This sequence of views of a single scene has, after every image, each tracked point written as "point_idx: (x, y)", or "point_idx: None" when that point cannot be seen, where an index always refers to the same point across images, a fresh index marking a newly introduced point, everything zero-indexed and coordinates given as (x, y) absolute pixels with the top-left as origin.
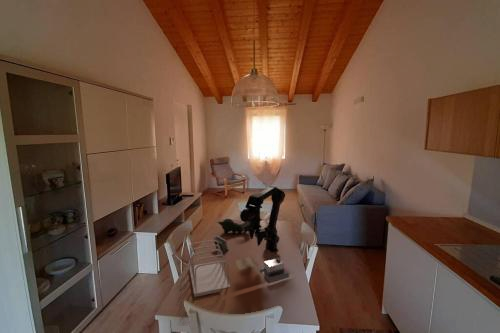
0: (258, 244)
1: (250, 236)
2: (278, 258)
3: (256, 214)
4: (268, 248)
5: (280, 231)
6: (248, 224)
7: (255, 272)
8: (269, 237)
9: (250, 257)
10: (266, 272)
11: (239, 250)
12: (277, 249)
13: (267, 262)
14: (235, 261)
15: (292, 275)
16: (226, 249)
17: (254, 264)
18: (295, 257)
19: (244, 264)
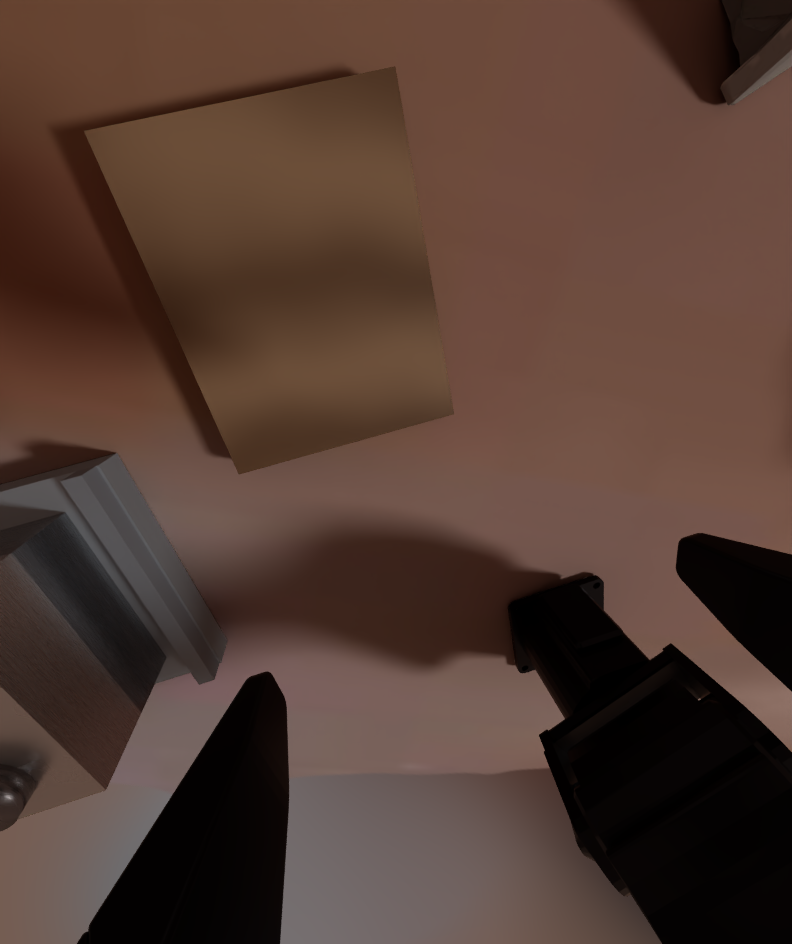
0: (225, 731)
1: (781, 577)
2: (85, 788)
3: None
4: (549, 618)
5: (772, 706)
6: None
7: (131, 402)
8: (619, 783)
9: (439, 400)
10: None
11: (681, 292)
12: (527, 669)
13: None
14: (380, 124)
15: None
16: (781, 22)
17: (257, 421)
18: (378, 759)
19: (270, 272)
